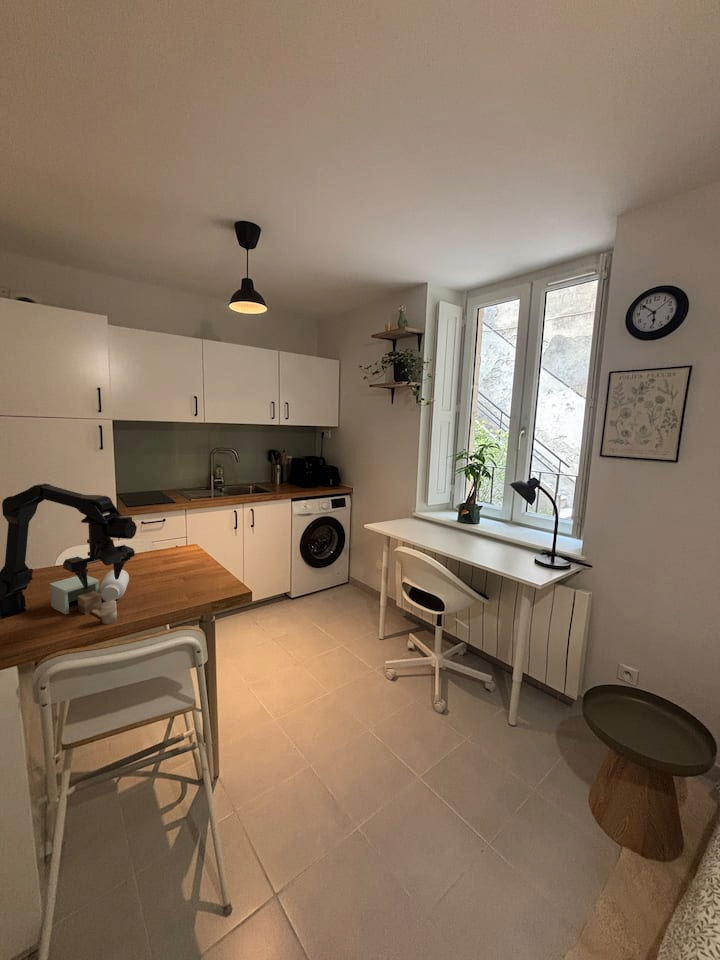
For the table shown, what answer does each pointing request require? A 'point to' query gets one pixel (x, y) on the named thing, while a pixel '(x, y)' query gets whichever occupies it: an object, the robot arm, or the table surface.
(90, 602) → the beige dumbbell
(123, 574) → the pill bottle
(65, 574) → the table surface
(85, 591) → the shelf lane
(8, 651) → the table surface
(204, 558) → the table surface
